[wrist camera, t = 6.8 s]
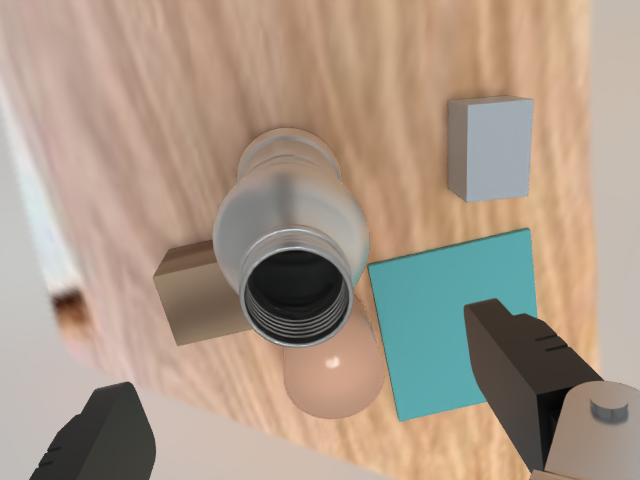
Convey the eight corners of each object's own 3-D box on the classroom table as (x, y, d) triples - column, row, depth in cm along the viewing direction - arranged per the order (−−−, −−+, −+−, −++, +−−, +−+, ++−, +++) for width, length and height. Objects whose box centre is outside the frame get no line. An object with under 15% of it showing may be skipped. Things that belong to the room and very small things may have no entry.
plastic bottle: (298, 235, 37) (317, 420, 18) (219, 178, 35) (148, 314, 16) (356, 165, 35) (443, 284, 17) (278, 101, 34) (274, 152, 15)
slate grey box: (447, 100, 35) (467, 105, 31) (505, 95, 35) (533, 99, 31) (447, 187, 37) (466, 202, 33) (502, 182, 37) (528, 196, 33)
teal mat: (367, 264, 38) (368, 266, 37) (527, 227, 38) (530, 229, 37) (398, 418, 43) (399, 421, 42) (541, 385, 42) (543, 388, 42)
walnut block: (169, 249, 37) (152, 277, 32) (238, 233, 36) (231, 259, 32) (190, 311, 38) (177, 346, 33) (256, 295, 38) (252, 328, 33)
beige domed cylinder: (274, 296, 38) (273, 345, 32) (358, 276, 38) (375, 321, 32) (294, 368, 40) (296, 428, 34) (374, 349, 40) (392, 406, 34)
